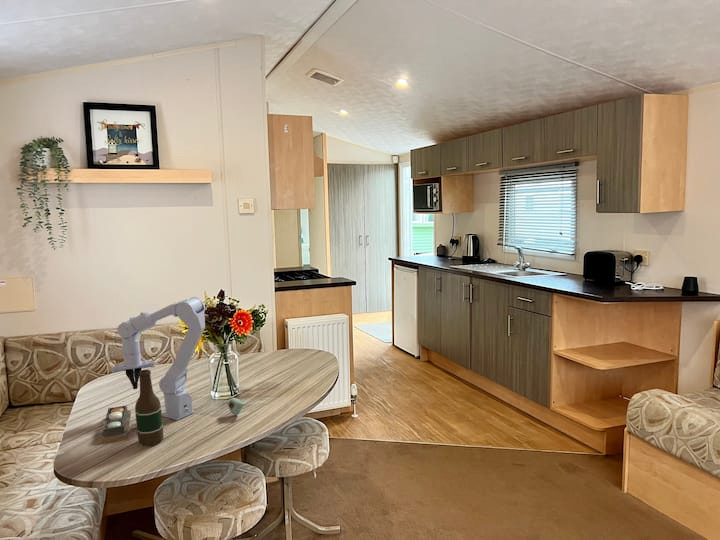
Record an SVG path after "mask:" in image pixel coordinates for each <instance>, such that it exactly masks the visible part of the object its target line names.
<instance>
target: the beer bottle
mask: <svg viewBox="0 0 720 540" xmlns="http://www.w3.org/2000/svg"><path fill="white" fill-rule="evenodd" d="M151 374H152V371H151V370H149V369H141V371H140V372H139V374H138V375H139V397H138V398H137V400H136V402H135V408H134V409H135V411H134V412H135V421H136V432H137V434H136V435H137V440H138V443H139V445H140V446H142V447H152V446H156V445H159V444H160V443H162V441H163V439H164V425H163V416H162V413H163V412H162V405H161V401H160V399H159V398H158V396H157V395H156V394H155V393H154V388H153V384H152V382H153V381H152V379H151V378H152V376H151Z"/></svg>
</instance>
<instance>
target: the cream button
mask: <svg viewBox="0 0 720 540" xmlns="http://www.w3.org/2000/svg"><path fill="white" fill-rule="evenodd" d="M116 419H122V412H113V413H111V414H109V421H110V420H116Z"/></svg>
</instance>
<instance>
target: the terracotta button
mask: <svg viewBox="0 0 720 540" xmlns="http://www.w3.org/2000/svg"><path fill="white" fill-rule="evenodd" d="M123 411H124V409H123V408H115V409H112V410H111V413H113V412H123Z"/></svg>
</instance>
